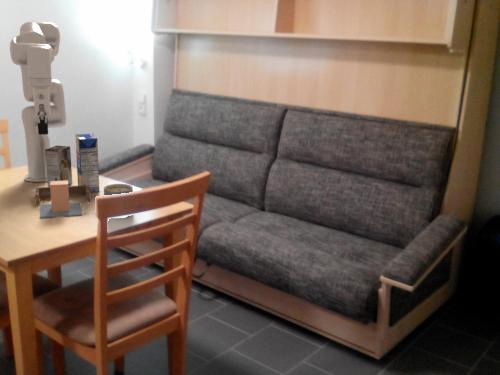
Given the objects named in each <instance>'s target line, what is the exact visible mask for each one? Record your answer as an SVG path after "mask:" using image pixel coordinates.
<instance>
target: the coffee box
mask: <svg viewBox="0 0 500 375" xmlns="http://www.w3.org/2000/svg"><path fill="white" fill-rule="evenodd" d="M45 155H46V169H47V181H46V182H47V187H50V181H67V180H68V186H70V185H71V184H72V183H73V172H72V171H73V170H72V169H73V168H72V152H71V146H69V145H55V146H52V147H51V146H50V148H49V149H46V150H45Z"/></svg>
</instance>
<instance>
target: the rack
mask: <svg viewBox="0 0 500 375" xmlns="http://www.w3.org/2000/svg"><path fill="white" fill-rule="evenodd" d="M68 190H69V198H70V197H71V198H72V197H86V199H85V200H86V203H91V193H90V190H89V185H83V186H78V185H68ZM34 197H35V205H36V206H40V205H41V204H40V203H41V202H40V201H41V199H51V190H50V187H48V186H47V187H46V186H45V187H35V193H34Z"/></svg>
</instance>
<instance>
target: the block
mask: <svg viewBox="0 0 500 375" xmlns="http://www.w3.org/2000/svg"><path fill="white" fill-rule="evenodd" d="M68 186H69V185H68V180H67V181H50V190H51V198H50V204H51V206H52V212H60V211H70V208H69V203H70V197H69V190H68Z"/></svg>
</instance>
